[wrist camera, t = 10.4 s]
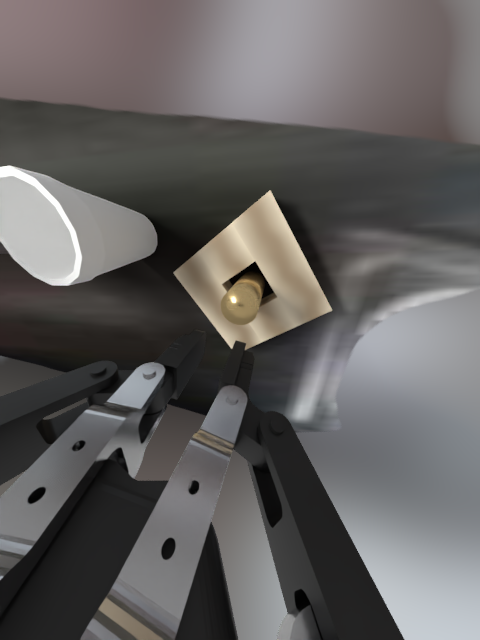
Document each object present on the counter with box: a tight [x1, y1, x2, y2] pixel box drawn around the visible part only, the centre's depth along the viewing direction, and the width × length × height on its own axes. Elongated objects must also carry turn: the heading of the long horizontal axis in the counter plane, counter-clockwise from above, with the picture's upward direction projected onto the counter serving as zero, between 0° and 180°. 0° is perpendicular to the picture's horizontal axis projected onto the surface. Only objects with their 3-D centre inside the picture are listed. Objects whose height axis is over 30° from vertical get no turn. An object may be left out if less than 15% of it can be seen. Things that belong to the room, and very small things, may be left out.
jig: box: [173, 191, 332, 350], centre depth 25 cm, size 16×16×4 cm
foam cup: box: [0, 166, 157, 286], centre depth 21 cm, size 10×9×13 cm
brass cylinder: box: [221, 271, 265, 325], centre depth 22 cm, size 4×4×10 cm
